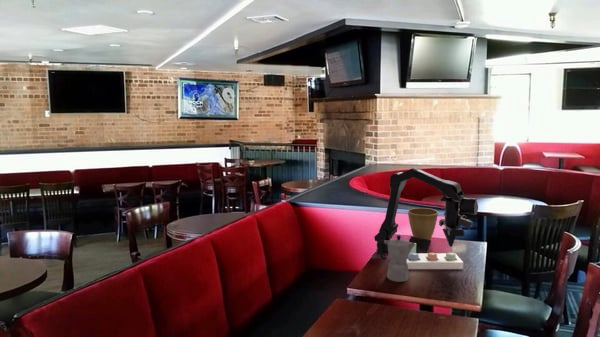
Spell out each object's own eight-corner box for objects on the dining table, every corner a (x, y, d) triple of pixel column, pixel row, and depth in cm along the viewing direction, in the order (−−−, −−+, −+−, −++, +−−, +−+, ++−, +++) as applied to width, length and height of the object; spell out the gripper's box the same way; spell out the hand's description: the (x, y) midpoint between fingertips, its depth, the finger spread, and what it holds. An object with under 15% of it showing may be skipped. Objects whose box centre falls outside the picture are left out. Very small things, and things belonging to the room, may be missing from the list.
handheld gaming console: (400, 249, 223) (407, 230, 226) (403, 254, 229) (410, 236, 232) (423, 256, 217) (430, 237, 220) (425, 261, 223) (432, 242, 226)
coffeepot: (415, 275, 194) (415, 233, 191) (414, 283, 185) (415, 239, 182) (377, 272, 198) (378, 231, 195) (375, 280, 189) (375, 237, 186)
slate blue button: (410, 263, 203) (410, 255, 203) (408, 260, 207) (408, 252, 207) (419, 263, 203) (419, 255, 203) (417, 260, 207) (417, 252, 206)
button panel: (406, 269, 201) (406, 251, 199) (402, 259, 212) (402, 242, 211) (463, 269, 199) (463, 251, 198) (455, 259, 211) (455, 242, 210)
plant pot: (402, 238, 245) (403, 208, 243) (429, 236, 248) (429, 207, 246) (414, 246, 231) (415, 215, 229) (442, 244, 233) (443, 213, 231)
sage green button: (447, 263, 202) (447, 255, 202) (444, 260, 206) (445, 252, 206) (456, 263, 202) (456, 255, 202) (453, 260, 206) (454, 252, 206)
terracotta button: (428, 263, 203) (428, 255, 202) (426, 260, 207) (426, 252, 206) (437, 263, 203) (438, 255, 202) (435, 260, 207) (435, 252, 206)
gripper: (477, 216, 191) (476, 253, 194) (464, 206, 210) (463, 240, 212) (450, 217, 192) (449, 253, 194) (439, 206, 210) (438, 240, 213)
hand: (450, 246), depth 203 cm, fingers closed
